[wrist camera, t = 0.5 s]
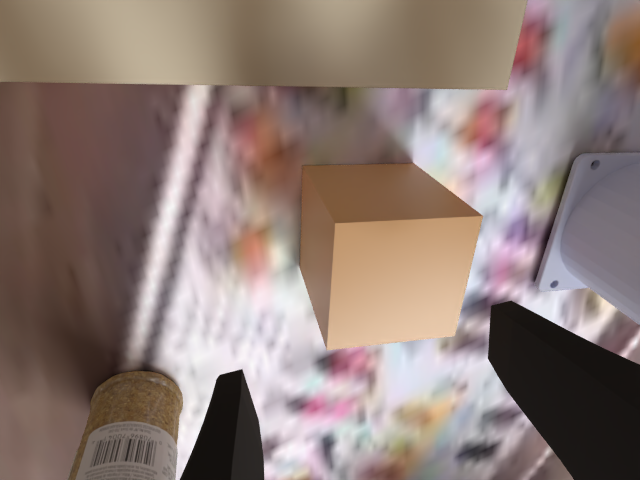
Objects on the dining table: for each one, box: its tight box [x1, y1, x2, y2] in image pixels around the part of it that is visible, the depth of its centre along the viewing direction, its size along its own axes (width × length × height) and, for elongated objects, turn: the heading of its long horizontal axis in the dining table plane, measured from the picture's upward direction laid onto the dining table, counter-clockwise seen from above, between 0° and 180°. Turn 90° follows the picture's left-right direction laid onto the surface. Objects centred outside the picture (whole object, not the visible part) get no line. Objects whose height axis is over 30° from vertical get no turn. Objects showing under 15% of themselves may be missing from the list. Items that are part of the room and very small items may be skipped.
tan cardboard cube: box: [300, 163, 483, 350], centre depth 18 cm, size 5×5×6 cm
